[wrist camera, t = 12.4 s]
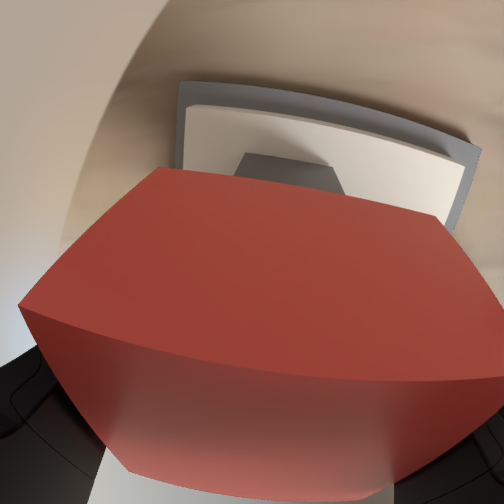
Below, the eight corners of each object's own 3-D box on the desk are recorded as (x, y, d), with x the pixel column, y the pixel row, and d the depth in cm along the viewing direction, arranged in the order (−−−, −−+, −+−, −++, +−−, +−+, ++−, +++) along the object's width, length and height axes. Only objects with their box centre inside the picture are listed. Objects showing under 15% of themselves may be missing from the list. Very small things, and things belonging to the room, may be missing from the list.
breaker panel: (471, 143, 14) (496, 157, 11) (376, 356, 24) (381, 381, 22) (186, 80, 14) (167, 82, 12) (183, 330, 25) (173, 355, 22)
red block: (435, 216, 7) (536, 371, 2) (352, 379, 10) (360, 499, 6) (158, 167, 7) (17, 305, 3) (169, 352, 10) (128, 471, 6)
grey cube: (332, 166, 13) (346, 197, 10) (314, 241, 15) (319, 286, 12) (245, 152, 13) (232, 177, 10) (236, 228, 15) (223, 270, 12)
